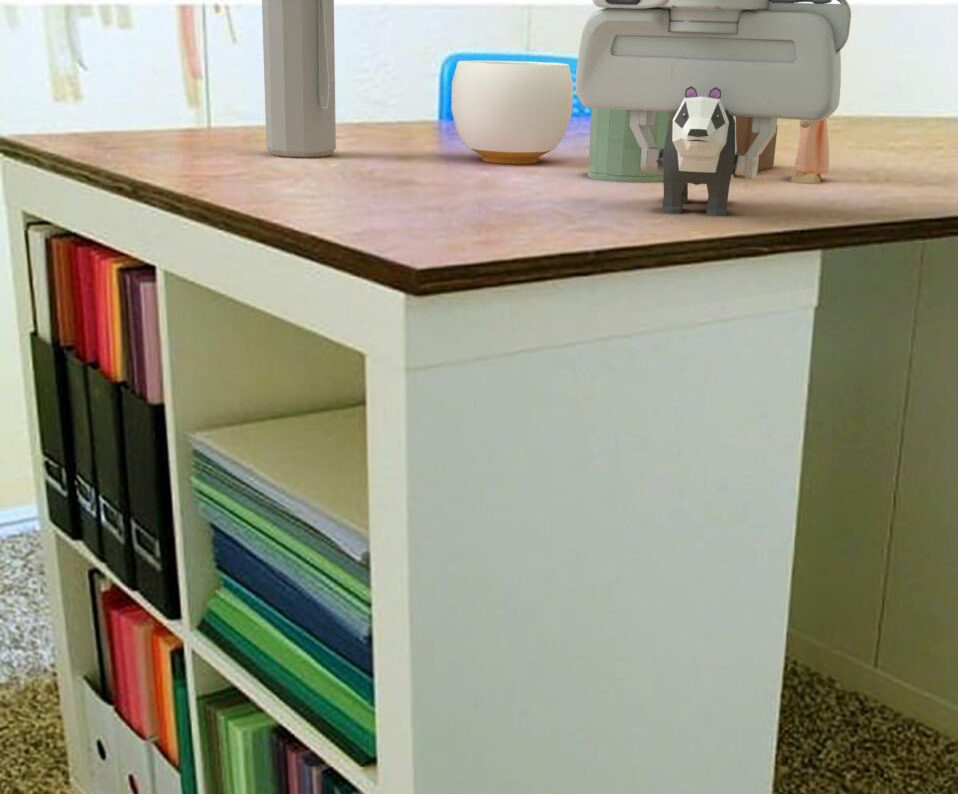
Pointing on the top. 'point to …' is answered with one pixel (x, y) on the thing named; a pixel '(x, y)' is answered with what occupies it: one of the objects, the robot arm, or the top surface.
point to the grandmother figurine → (812, 152)
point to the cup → (511, 108)
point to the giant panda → (699, 152)
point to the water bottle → (299, 77)
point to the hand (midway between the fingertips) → (697, 174)
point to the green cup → (621, 146)
